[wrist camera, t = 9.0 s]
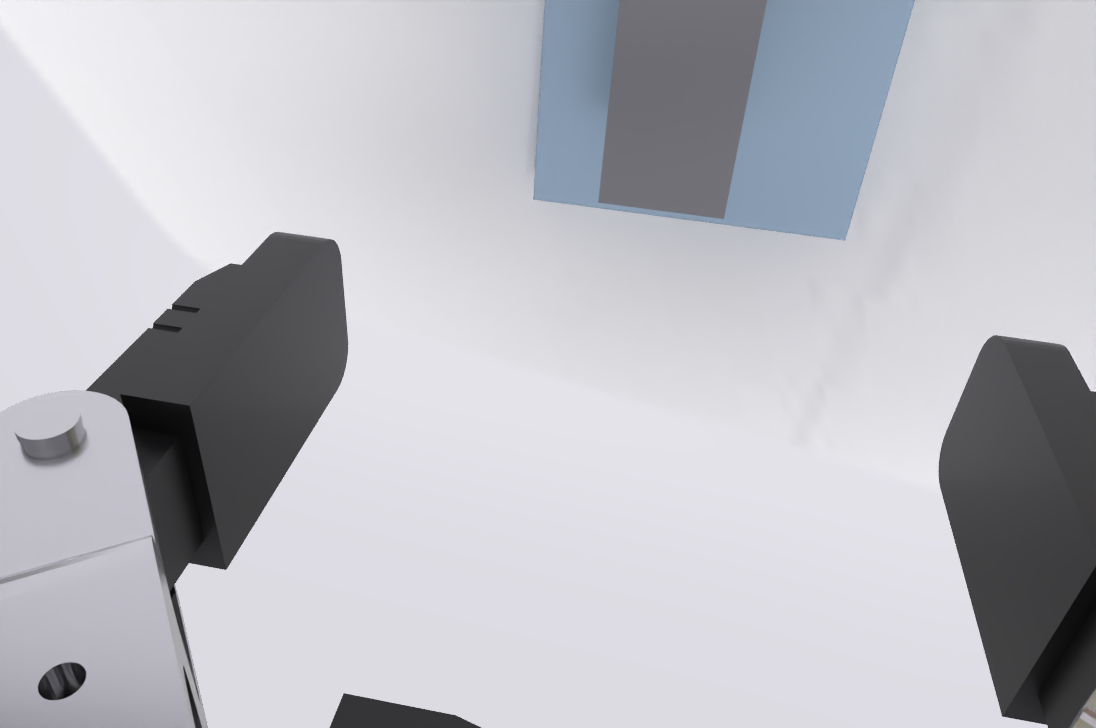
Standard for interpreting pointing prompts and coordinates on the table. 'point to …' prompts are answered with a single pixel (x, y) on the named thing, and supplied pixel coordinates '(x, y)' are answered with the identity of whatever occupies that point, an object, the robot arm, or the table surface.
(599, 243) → the table surface
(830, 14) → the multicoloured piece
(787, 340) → the table surface
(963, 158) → the table surface
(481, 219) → the table surface
